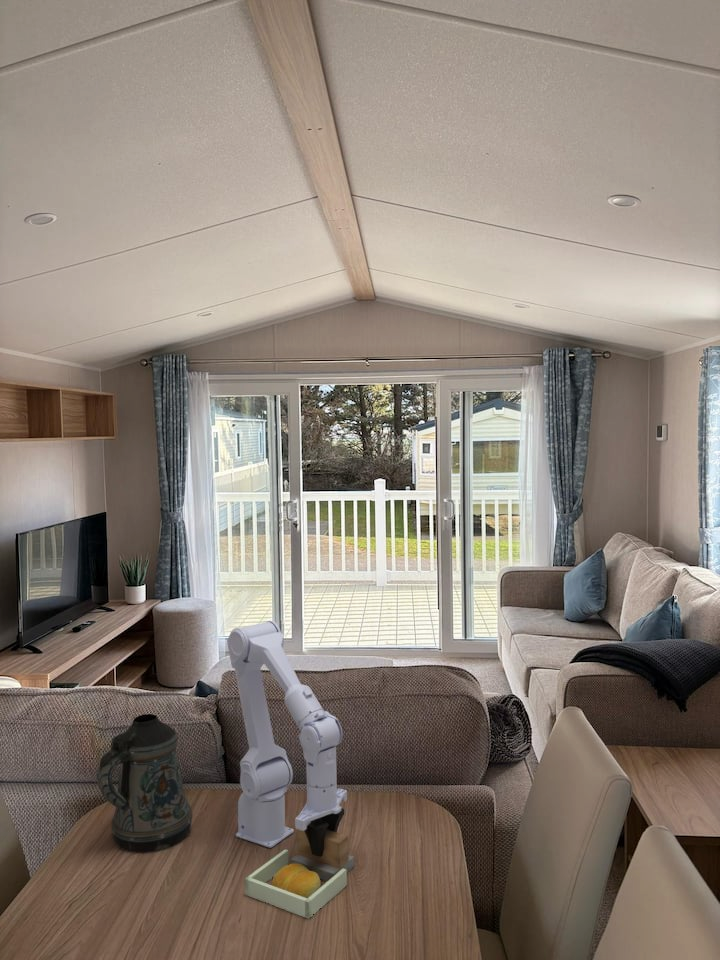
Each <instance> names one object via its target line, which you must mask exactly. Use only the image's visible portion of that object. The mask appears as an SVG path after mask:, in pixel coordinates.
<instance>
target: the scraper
mask: <svg viewBox="0 0 720 960" xmlns="http://www.w3.org/2000/svg"><path fill="white" fill-rule="evenodd" d="M295 829H296V828H295ZM295 831H296V854H295V855H294V856H292V857H291V858H290V864H300V865H302V866H304V867H306V868H307V869H308V870H309V871H313V872H316V873H317V874H318V876H319V878H320V879H321V881H323V880H324V882H325V883H326V882H328V881H329V880H330V879H331V878H332V877H333V876H335V875H336V874H337V873H338V872H339V871H340V870H342V869H346V870H347V874H348V873H349V872H350V871H351V870H352V869H354V868H355V856H354V855H350V854H349V836H348V835H346V834H343V833H340V832H338V831H337V832H334V831H330V830H326V834H325V839H324V851H323V855H322V856H321V857H319V856H316V855H313V854H312V852H311V848H310V844H309V841H308V838H307V836H306V834H305V832H304V831H303V830H299V829H296V830H295Z"/></svg>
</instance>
